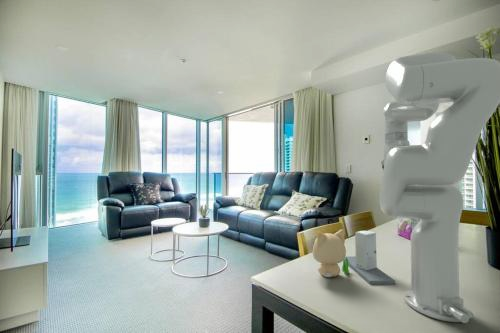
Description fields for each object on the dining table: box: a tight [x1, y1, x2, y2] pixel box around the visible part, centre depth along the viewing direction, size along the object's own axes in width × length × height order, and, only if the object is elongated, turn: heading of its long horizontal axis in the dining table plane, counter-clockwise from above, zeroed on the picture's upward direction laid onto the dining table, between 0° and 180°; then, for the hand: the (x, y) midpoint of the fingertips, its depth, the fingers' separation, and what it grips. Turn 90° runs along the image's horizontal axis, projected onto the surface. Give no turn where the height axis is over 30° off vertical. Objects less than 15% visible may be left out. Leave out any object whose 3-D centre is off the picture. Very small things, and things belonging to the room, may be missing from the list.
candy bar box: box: [397, 218, 421, 241], centre depth 119 cm, size 11×5×16 cm, turn 179°
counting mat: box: [342, 255, 396, 285], centre depth 80 cm, size 20×8×1 cm, turn 2°
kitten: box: [312, 228, 350, 278], centre depth 76 cm, size 15×10×15 cm, turn 109°
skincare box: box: [354, 230, 378, 270], centre depth 80 cm, size 6×4×12 cm
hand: (396, 182), depth 88 cm, fingers open, 9 cm apart
